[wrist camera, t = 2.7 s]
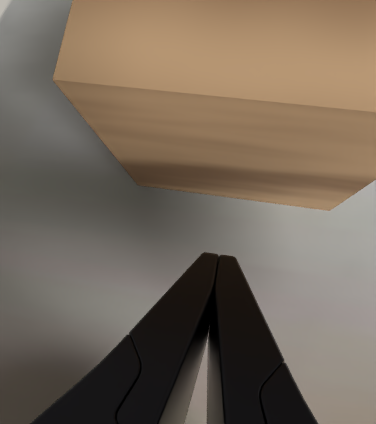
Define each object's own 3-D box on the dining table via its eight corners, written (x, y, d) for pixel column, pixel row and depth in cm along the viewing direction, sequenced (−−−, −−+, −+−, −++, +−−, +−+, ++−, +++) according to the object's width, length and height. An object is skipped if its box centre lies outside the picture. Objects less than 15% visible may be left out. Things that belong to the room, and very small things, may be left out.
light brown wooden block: (329, 211, 18) (462, 120, 8) (138, 185, 19) (52, 79, 9) (337, 119, 19) (464, -60, 9) (154, 100, 20) (91, -77, 10)
